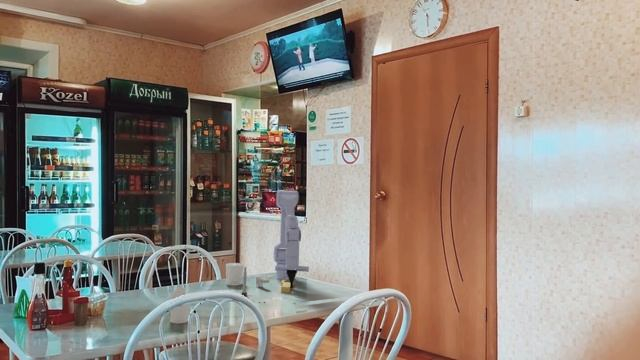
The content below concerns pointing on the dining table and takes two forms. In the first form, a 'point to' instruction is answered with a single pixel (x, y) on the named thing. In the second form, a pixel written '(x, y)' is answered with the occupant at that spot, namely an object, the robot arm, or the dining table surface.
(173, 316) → the roll
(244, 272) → the tow hook
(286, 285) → the link
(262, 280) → the keeper
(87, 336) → the dining table surface
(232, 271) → the white cup
